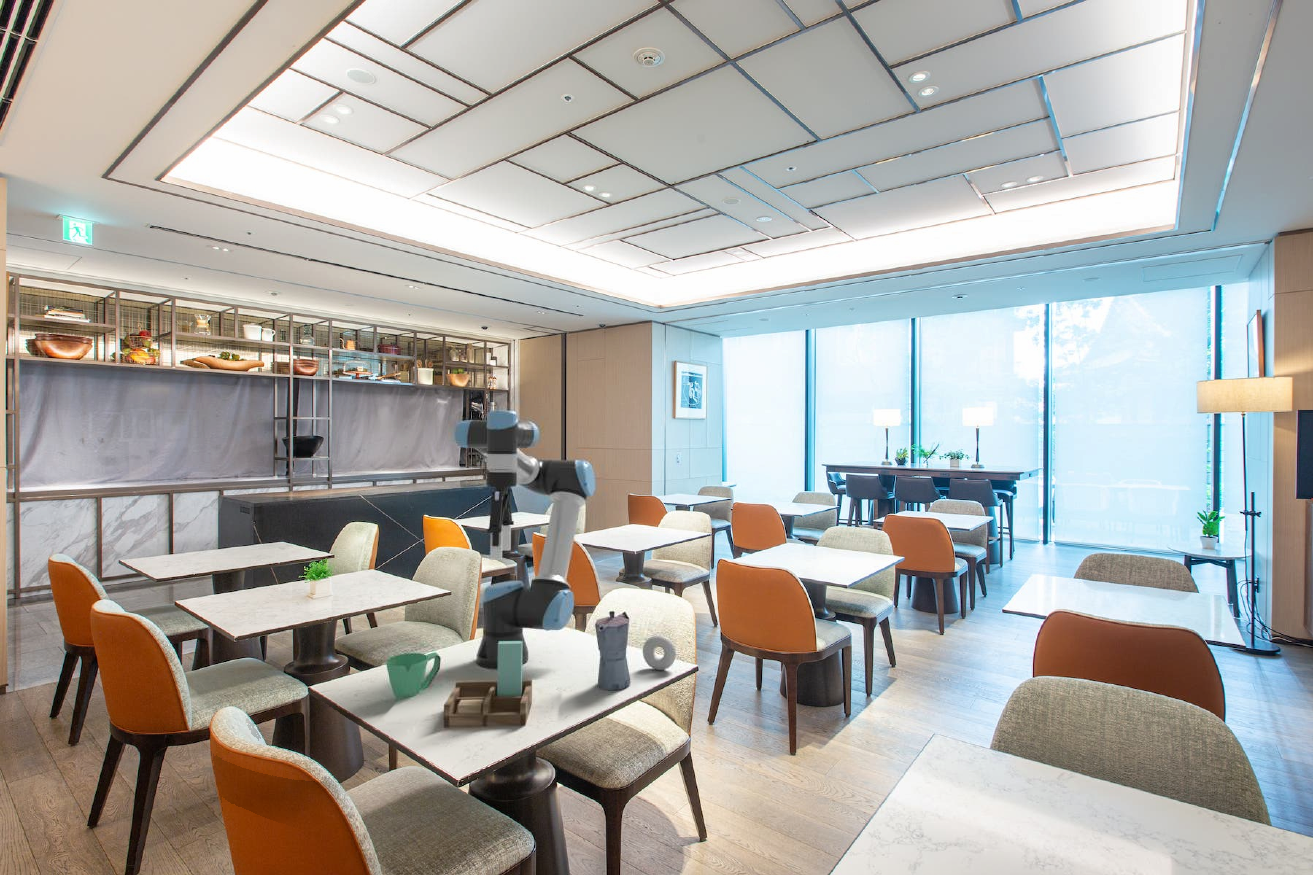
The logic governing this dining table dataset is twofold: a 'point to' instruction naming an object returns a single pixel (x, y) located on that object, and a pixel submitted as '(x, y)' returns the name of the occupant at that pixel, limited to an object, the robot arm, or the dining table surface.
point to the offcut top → (470, 706)
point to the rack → (488, 705)
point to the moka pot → (613, 651)
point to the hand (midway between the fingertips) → (500, 554)
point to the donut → (651, 657)
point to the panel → (509, 668)
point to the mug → (410, 673)
